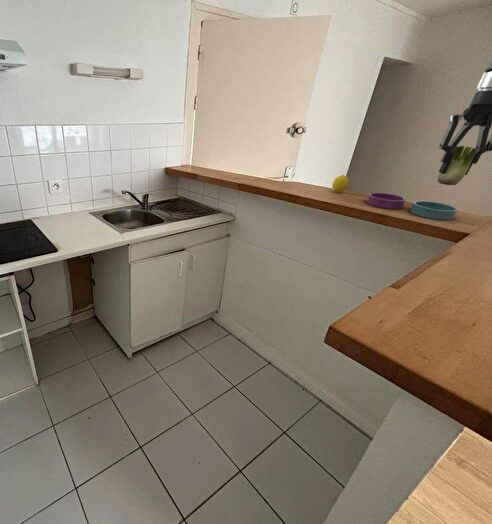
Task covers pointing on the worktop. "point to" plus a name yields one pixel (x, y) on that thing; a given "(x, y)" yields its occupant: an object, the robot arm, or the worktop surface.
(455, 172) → the fennel bulb
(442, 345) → the worktop surface
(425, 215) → the teal bowl
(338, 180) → the lemon
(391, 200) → the plum bowl
